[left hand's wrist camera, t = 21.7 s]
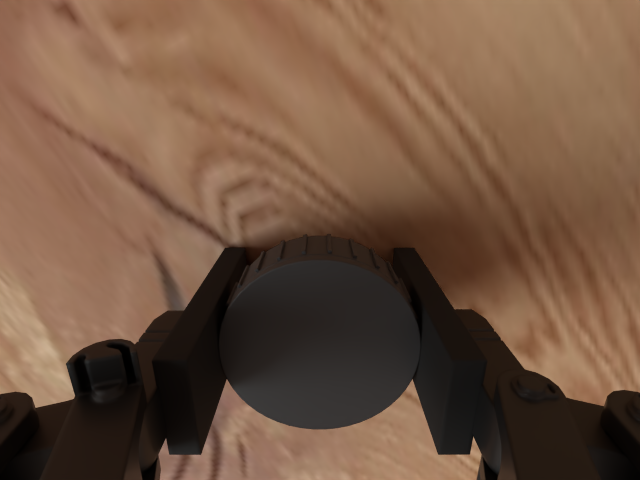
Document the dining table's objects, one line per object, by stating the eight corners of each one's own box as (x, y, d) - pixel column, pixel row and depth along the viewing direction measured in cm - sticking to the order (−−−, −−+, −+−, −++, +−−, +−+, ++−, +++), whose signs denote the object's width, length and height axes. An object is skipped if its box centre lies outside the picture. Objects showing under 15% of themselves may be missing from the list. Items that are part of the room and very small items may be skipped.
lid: (438, 266, 12) (460, 295, 10) (368, 405, 13) (376, 451, 12) (259, 206, 11) (247, 227, 9) (212, 362, 13) (194, 403, 11)
